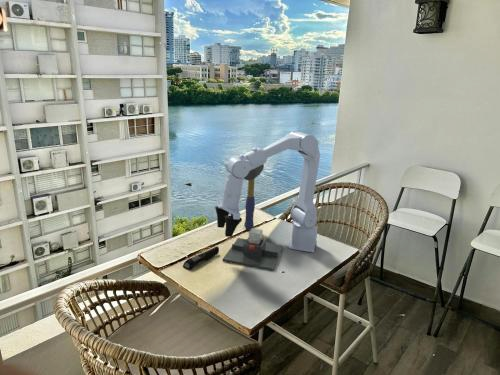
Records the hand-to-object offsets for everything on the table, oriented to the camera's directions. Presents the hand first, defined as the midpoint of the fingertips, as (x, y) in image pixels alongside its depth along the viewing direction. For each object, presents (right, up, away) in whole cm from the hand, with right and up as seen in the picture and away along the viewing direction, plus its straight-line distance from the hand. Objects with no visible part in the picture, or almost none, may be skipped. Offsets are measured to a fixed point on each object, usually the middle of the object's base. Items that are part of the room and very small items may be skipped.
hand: (224, 231), depth 122 cm
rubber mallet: (+8, -3, +29) cm, 30 cm away
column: (+10, -8, +7) cm, 15 cm away
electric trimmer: (-8, -11, +2) cm, 13 cm away
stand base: (+10, -9, +8) cm, 16 cm away
